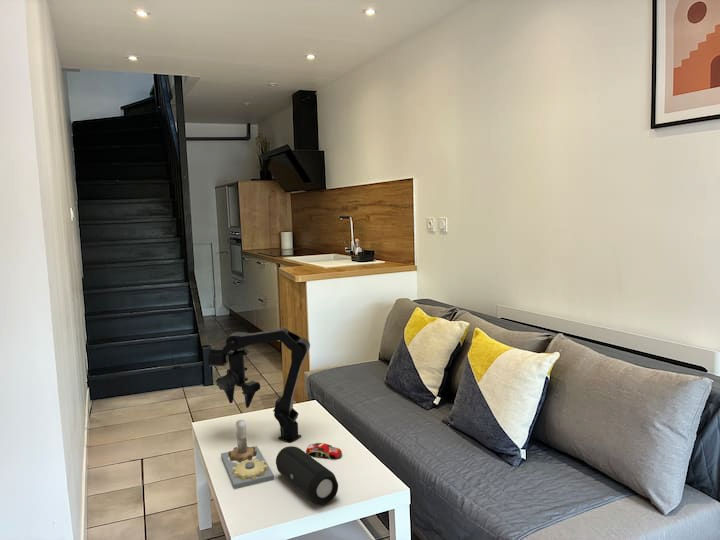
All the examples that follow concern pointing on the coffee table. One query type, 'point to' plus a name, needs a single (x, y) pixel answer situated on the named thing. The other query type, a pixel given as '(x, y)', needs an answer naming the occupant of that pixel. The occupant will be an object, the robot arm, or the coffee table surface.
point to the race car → (323, 451)
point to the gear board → (243, 482)
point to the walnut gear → (242, 445)
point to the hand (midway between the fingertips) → (239, 405)
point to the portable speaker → (307, 474)
